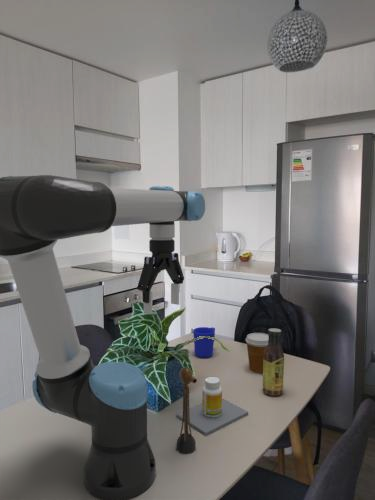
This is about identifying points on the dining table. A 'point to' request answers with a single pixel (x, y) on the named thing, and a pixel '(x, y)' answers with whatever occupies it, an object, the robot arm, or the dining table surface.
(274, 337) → the sauce bottle
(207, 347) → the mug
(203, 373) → the dining table surface
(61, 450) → the dining table surface
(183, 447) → the wooden tabletop sculpture
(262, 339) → the disposable coffee cup
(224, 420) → the mat
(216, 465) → the dining table surface
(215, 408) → the supplement bottle
